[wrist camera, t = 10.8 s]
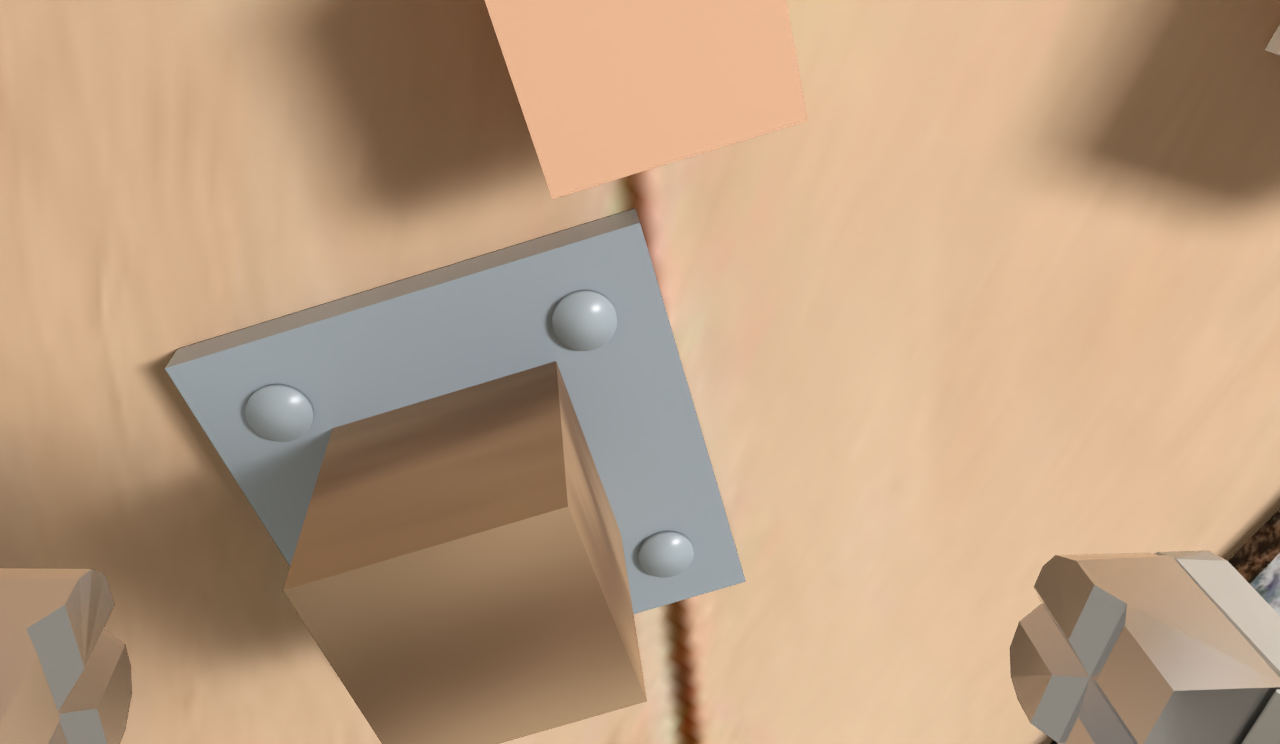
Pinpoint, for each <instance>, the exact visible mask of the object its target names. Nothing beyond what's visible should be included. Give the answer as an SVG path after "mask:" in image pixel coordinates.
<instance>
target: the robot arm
mask: <svg viewBox="0 0 1280 744" xmlns="http://www.w3.org/2000/svg"><path fill="white" fill-rule="evenodd" d="M1034 588H1035V590H1036V592H1037V594H1038V596H1039V599H1040V601H1041V603H1042V604H1041V605H1039V606H1038V607H1037V608H1036V609H1034V610H1033V611H1032V612H1031V613H1029V614H1028V615H1027V616H1026V617H1024V618H1023V619H1022V620H1021V621H1019V624H1018V627H1017V629H1016V632H1015V635H1014V638H1013V641H1012V643H1011V646H1010V666H1011V679H1012V682H1013V685H1014V689H1015V692H1016V695H1017V698H1018V701H1019V703H1020V704H1021V706H1022V708H1023V710H1024V712H1025V714H1026V715H1027V717H1028V719H1029V721H1030V723H1031V724H1033V725H1034V726H1035V727H1037V728H1038V729H1039V730H1041V731H1042V732H1044V733H1045V734H1046V735H1048V736H1049V737H1050V738H1052V739H1053V740H1054V741H1056V742H1057V743H1058V744H1280V615H1279V614H1278V613H1277V612H1276V611H1275V610H1274V609H1273V608H1272V607H1271V606H1270V605H1269V604H1268V603H1267V602H1266V601H1265V600H1264V599H1263V598H1262V597H1261V595H1260V594H1259V593H1258V592H1257V591H1256V590H1255V589H1254V588H1253V587H1252V586H1251V585H1250V584H1249V583H1248V582H1247V581H1246V580H1245V579H1244V578H1243V577H1242V575H1241V574H1240V573H1239V572H1238V571H1237V570H1236V569H1235V568H1234V567H1233V566H1232V565H1231V564H1230V563H1229V562H1228V561H1227V560H1225V559H1224V558H1222V557H1220V556H1218V555H1216V554H1214V553H1212V552H1210V551H1180V552H1157V553H1154V554H1152V553H1123V554H1080V555H1055V556H1054V557H1053V558H1052V559H1051V560H1050V561H1048V562H1047V563H1046V564H1045V565H1044V566H1043V567H1042V569H1041V572H1040V574H1039V576H1038V579H1037V581H1036V583H1035V585H1034ZM114 605H115V604H114V601H113V598H112V594H111V591H110V588H109V585H108V582H107V579H106V576H105V574H103V573H101V572H98V571H96V570H93V569H41V568H0V744H120V743H121V740H122V737H123V735H124V732H125V729H126V724H127V718H128V712H129V707H130V701H131V695H132V683H131V665H130V661H129V657H128V653H127V649H126V645H125V644H124V643H123V642H122V641H120V640H119V639H118V638H116V637H115V636H114V635H112V634H111V633H110V632H109V631H107V630H106V629H105V628H104V626H105V624H106V622H107V620H108V618H109V616H110V613H111V611H112V609H113V607H114Z"/></svg>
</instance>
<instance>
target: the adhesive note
mask: <svg viewBox="0 0 1280 744" xmlns="http://www.w3.org/2000/svg"><path fill="white" fill-rule="evenodd" d="M1265 50H1266V51H1268V52H1271V53H1274V54H1277V55H1279V56H1280V25H1279V26H1278V28H1277V30H1276V31H1275V33H1274V35H1273V36H1272V38H1271V40H1270V42H1269V43H1268V45H1267V47H1266V48H1265Z"/></svg>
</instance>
